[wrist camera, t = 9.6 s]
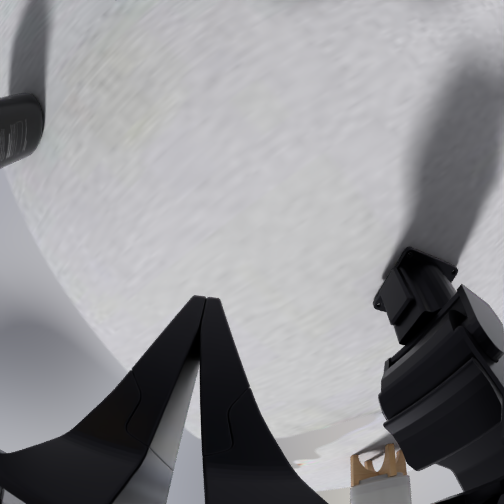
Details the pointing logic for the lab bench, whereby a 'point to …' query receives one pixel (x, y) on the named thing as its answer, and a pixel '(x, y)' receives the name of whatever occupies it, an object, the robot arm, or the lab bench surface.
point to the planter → (380, 480)
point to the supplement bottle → (19, 127)
